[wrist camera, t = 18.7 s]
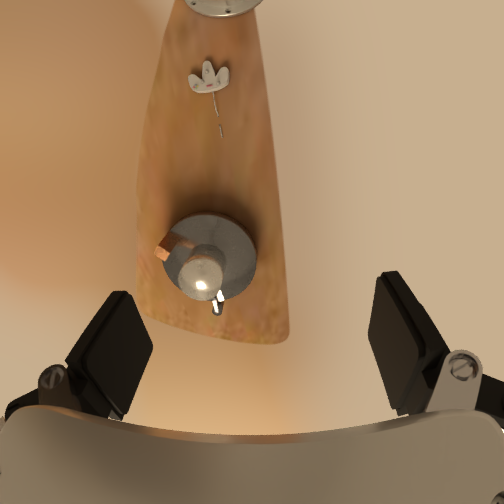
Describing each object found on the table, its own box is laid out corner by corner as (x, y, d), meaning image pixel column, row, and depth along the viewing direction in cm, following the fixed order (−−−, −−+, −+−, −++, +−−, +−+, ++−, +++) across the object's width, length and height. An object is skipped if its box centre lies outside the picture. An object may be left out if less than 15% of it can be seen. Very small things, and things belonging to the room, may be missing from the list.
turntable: (151, 262, 46) (135, 284, 39) (195, 192, 40) (182, 206, 34) (222, 307, 49) (217, 334, 43) (276, 248, 43) (277, 271, 37)
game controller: (219, 55, 32) (216, 51, 29) (257, 120, 36) (257, 120, 34) (185, 74, 33) (180, 72, 31) (222, 138, 38) (219, 139, 35)
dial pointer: (213, 286, 49) (209, 300, 45) (222, 285, 48) (219, 300, 45) (217, 300, 50) (213, 315, 46) (225, 300, 50) (222, 315, 46)
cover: (185, 244, 42) (173, 264, 36) (224, 242, 41) (217, 262, 36) (192, 278, 44) (182, 300, 39) (228, 277, 44) (223, 300, 38)
